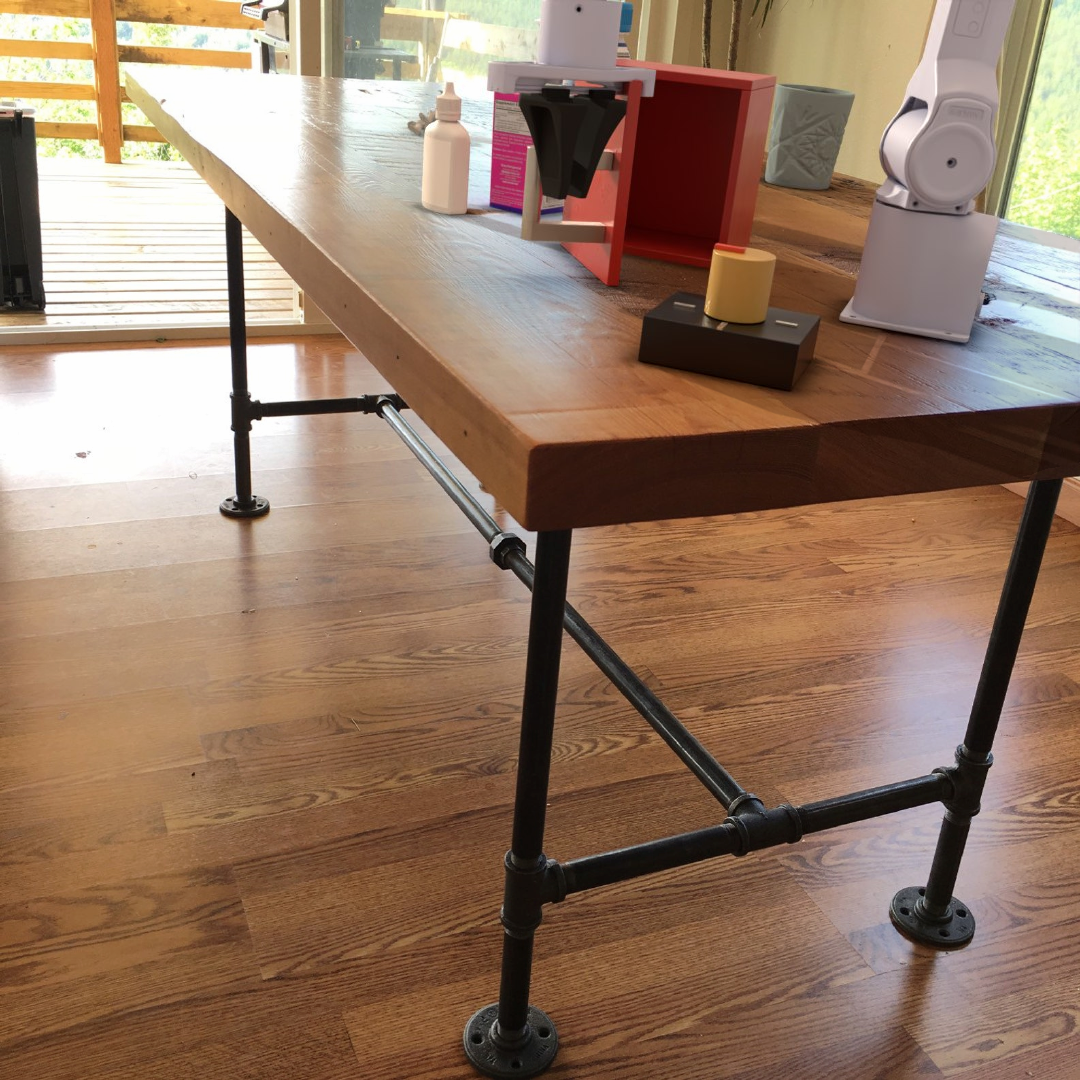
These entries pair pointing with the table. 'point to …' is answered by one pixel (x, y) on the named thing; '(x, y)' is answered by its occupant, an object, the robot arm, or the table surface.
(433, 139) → the eye dropper bottle
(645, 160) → the cabinet
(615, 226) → the red door with handle
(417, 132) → the soldier figure
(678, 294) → the panel
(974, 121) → the robot arm
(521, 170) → the supplement box
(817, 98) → the grey green vase
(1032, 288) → the table surface
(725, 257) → the knob
